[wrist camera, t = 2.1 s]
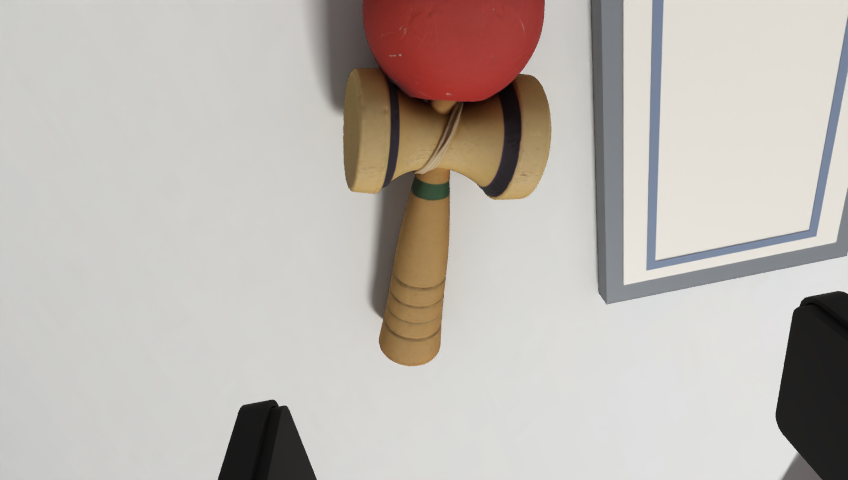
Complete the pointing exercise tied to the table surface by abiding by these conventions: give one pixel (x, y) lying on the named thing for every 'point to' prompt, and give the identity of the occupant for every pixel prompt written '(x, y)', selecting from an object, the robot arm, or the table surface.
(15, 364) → the table surface
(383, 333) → the kendama
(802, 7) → the picture frame
